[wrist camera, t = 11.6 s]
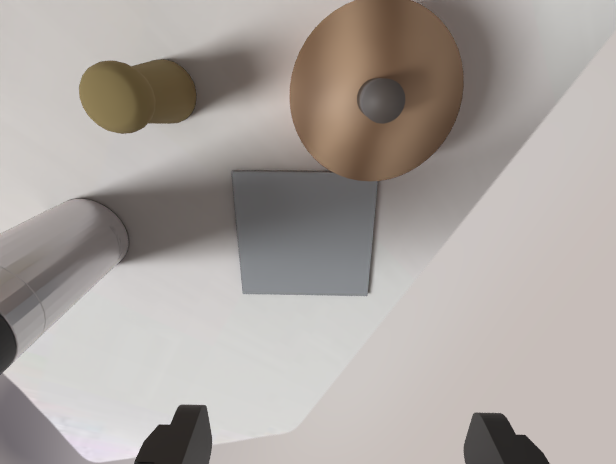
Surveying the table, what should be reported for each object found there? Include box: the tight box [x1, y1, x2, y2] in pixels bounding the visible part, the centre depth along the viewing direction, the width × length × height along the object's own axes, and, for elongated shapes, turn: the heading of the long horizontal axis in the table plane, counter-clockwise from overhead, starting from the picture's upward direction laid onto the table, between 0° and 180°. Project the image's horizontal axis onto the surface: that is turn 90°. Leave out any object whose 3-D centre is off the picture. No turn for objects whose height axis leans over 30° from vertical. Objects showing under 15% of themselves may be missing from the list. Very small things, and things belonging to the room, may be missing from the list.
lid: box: [290, 0, 463, 181], centre depth 27 cm, size 14×14×5 cm
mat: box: [232, 171, 378, 296], centre depth 41 cm, size 16×16×1 cm
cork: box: [79, 59, 196, 134], centre depth 30 cm, size 6×6×11 cm
